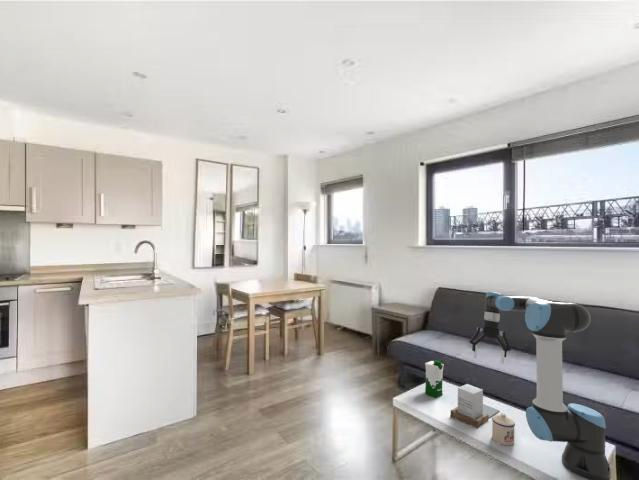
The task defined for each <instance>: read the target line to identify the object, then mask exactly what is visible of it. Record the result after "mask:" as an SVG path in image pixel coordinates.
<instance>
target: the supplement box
mask: <svg viewBox="0 0 639 480" xmlns="http://www.w3.org/2000/svg"><path fill="white" fill-rule="evenodd" d="M483 401H484V389H483V388H479V387H477V386H474V385H471V384H468V383H466V384H464V385H463V384H462V386H459V387H457V407H458V413H460V414H463V415H465V416H467V417H470V418H472V419H474V420H476V419H478V418H479V417H481V416H483V404H484V402H483Z"/></svg>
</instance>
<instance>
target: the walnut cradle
mask: <svg viewBox="0 0 639 480" xmlns="http://www.w3.org/2000/svg"><path fill="white" fill-rule="evenodd" d="M488 416H489V414H484V415H483V416H481V417H479V418H478V419H476V420H474V419H472V418H470V417H467V416H465V415H463V414H460V413H458V406H456V407H455V408H452V409H451V410H450V418H453V419H456V420H458V421H459V422H461V423H465V424H466V425H469V426H471V427H473V428H474V429H478V428H479V427H480V426H482V425H484V424H485V423H487V422H488V421H489V418H488Z"/></svg>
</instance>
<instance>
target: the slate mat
mask: <svg viewBox="0 0 639 480" xmlns="http://www.w3.org/2000/svg"><path fill="white" fill-rule="evenodd" d="M500 411H501V410H499V409H498V408H495V407H492V406H489V405H486V404H485V403H483V415H484V414H489V416H488V419H492V417H493V416H494V415H498V413H500Z"/></svg>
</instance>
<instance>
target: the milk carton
mask: <svg viewBox="0 0 639 480" xmlns="http://www.w3.org/2000/svg"><path fill="white" fill-rule="evenodd" d="M424 365H425V366H424V367H425V388H424V389H425V390H424V394H425V395H428V396H430V397H432V398H434V399H437V398H439V397H441V396H443V372H444V365H445V364H443V363H442V361H441V360H439V359H435V360H430V361H427V362H425V363H424Z"/></svg>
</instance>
